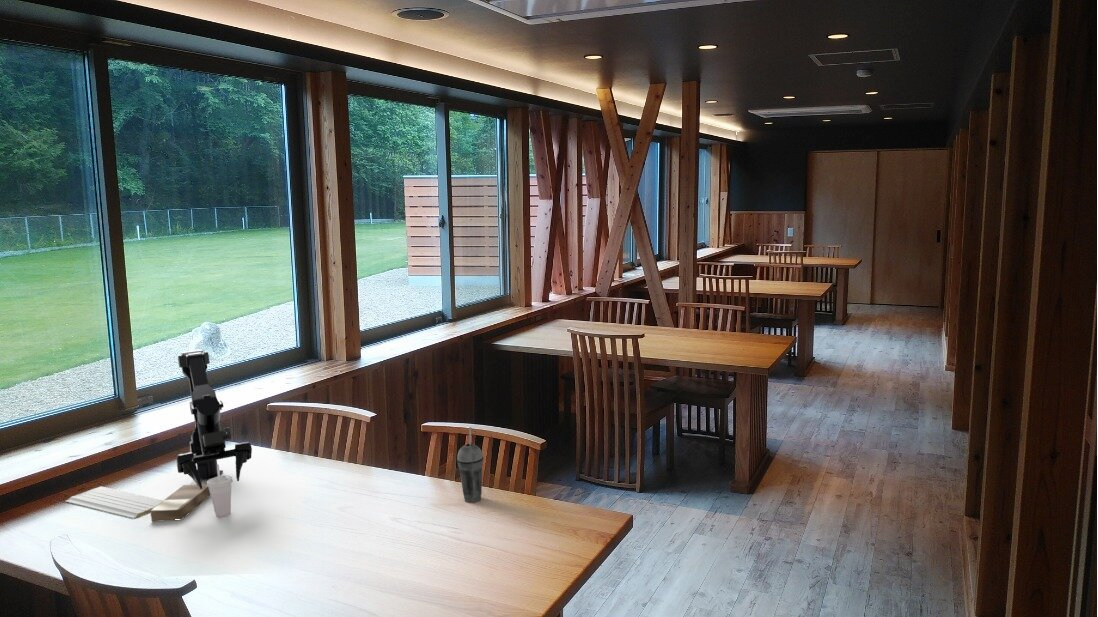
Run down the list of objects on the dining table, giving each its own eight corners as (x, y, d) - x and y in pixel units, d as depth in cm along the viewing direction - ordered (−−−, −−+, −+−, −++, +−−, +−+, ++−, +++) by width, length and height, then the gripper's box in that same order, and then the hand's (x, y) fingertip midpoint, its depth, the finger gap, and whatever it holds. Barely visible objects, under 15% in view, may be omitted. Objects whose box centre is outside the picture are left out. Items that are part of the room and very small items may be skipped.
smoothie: (211, 521, 205) (205, 470, 203) (209, 512, 210) (203, 463, 208) (237, 515, 207) (231, 465, 205) (234, 507, 213) (229, 458, 211)
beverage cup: (454, 503, 209) (449, 431, 206) (467, 493, 215) (462, 423, 212) (478, 506, 206) (474, 433, 203) (490, 495, 213) (486, 425, 210)
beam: (184, 494, 224) (183, 484, 224) (212, 494, 224) (210, 483, 224) (150, 521, 206) (149, 510, 205) (180, 520, 206) (178, 509, 205)
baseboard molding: (128, 523, 207) (168, 506, 218) (127, 512, 207) (167, 496, 217) (60, 505, 222) (101, 491, 232) (59, 496, 222) (100, 481, 232)
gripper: (172, 425, 205) (180, 477, 197) (247, 413, 214) (258, 462, 206) (173, 447, 213) (181, 497, 205) (245, 434, 222) (256, 482, 214)
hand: (219, 484), depth 207 cm, fingers open, 9 cm apart
